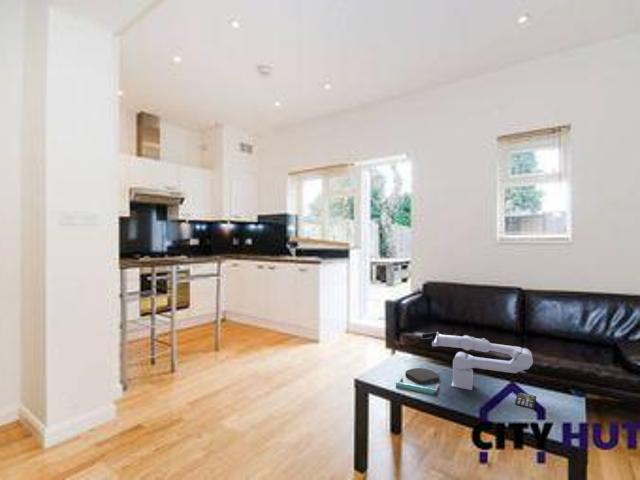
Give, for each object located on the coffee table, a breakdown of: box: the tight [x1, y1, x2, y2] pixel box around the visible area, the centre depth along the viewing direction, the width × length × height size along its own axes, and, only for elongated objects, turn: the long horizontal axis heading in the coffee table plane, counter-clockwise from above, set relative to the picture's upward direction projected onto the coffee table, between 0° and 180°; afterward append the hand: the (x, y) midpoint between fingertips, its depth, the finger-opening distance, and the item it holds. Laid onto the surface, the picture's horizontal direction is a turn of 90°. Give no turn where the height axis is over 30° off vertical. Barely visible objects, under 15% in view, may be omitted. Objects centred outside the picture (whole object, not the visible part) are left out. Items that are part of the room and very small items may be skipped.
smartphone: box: [514, 392, 537, 410], centre depth 158 cm, size 7×1×15 cm
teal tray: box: [395, 377, 440, 396], centre depth 172 cm, size 19×10×2 cm, turn 63°
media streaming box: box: [404, 367, 440, 385], centre depth 183 cm, size 15×15×3 cm
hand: (420, 338), depth 183 cm, fingers open, 7 cm apart
